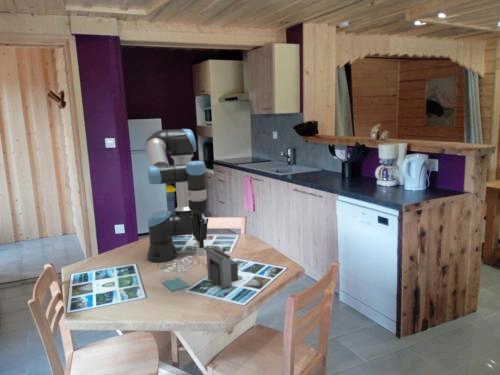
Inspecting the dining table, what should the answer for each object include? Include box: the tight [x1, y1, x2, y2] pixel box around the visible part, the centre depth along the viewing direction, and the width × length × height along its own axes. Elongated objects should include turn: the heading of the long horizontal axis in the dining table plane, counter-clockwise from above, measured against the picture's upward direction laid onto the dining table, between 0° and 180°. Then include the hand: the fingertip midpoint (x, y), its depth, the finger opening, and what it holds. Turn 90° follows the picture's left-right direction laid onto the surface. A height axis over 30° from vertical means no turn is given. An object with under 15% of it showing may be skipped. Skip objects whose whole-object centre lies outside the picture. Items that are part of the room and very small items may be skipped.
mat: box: [161, 277, 191, 292], centre depth 178 cm, size 11×8×1 cm
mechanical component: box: [204, 245, 227, 255], centre depth 196 cm, size 3×10×10 cm, turn 78°
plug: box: [210, 259, 239, 287], centre depth 180 cm, size 6×12×8 cm, turn 124°
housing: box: [205, 248, 233, 289], centre depth 178 cm, size 14×4×13 cm, turn 34°
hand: (200, 254), depth 172 cm, fingers closed
